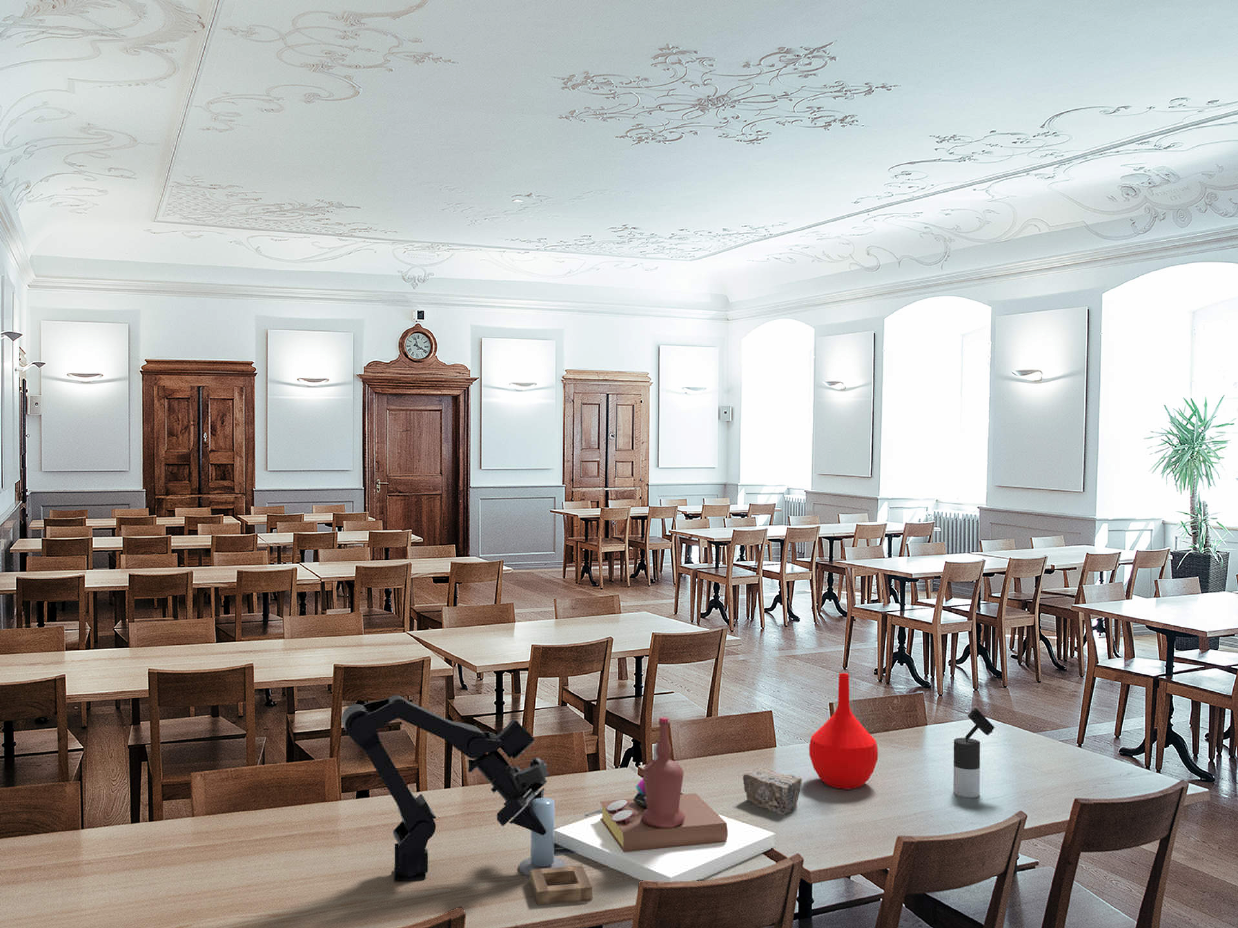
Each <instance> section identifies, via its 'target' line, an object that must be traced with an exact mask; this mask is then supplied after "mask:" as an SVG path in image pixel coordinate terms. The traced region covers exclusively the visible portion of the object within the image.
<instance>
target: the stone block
mask: <svg viewBox="0 0 1238 928" xmlns="http://www.w3.org/2000/svg"><path fill="white" fill-rule="evenodd" d="M742 779H743V789H744V792H745V794H746V795H745V796H746V800H747V801H749V803H753V804H754V805H756V806H758V807H760V808H764V809H767V810H769V811H770V812H773V813H776V814H780V815H782V816H785V815H787V814H789V813H790V812H792V811H795V810H796V809H797V808H798V801H799V798H800V793H801V787H802V782H803V778H802V777H801V776H799V775H795V774H784V773H781V772H776V771H773V770H770V769H765V768H761V767H756V768H755V769H753V770H752V769H751V770H749V771H747V772H744V773H743V776H742Z"/></svg>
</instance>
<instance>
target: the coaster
mask: <svg viewBox="0 0 1238 928" xmlns="http://www.w3.org/2000/svg"><path fill="white" fill-rule="evenodd" d="M518 867H519V868H518V869H519V872H520V873H522V874H523V875H525V876H527V877H530V870H532V869H545V868H557V867H567V863H566V862H565V860H564V859H561V858H559V857H556V856H554V863H553V864H551V865H549V866H535V865H532V864H531V857H528V858H526V859H524V860H522V861H520V862H519V866H518Z"/></svg>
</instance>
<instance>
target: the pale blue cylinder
mask: <svg viewBox="0 0 1238 928" xmlns="http://www.w3.org/2000/svg"><path fill="white" fill-rule="evenodd" d="M532 803H533V812H534V813H535V815H536V816H537V818H538V819H539V821H540V822H541V823H542V825H543V826H544V828H545V830H546V833H545V834H544V835H541V834H538V833H536V832H534V831H531V830H530V858H531V864H532V865H535V866H549V865H551V864H553V863H554V857H555V856H554V828H555V808H556V807H555V806H556V805H555V799H553V798H549V797H543V798H536V799H533V800H532Z"/></svg>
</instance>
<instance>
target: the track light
mask: <svg viewBox="0 0 1238 928" xmlns="http://www.w3.org/2000/svg"><path fill="white" fill-rule="evenodd" d="M967 717H968V718H969V720H971V722H972V723H973V724H974V726H973V727H972V729H970V731H969V732H968V733H967V734H966V735H965V736H964V737H957V738H956V737H955V738H954V739H953V794H955V796H958V797H963V798H977V797H980V792H981V791H980V790H981V789H980V787H981V786H980V782H981V781H980V780H981V775H980V774H981V767H980V766H981V742H980V741H979V740H978V739H975V738H972V736H973V734H975V733H976V732H977V730H978V729H979V730H980V731H981V732H982V733H983V734H984V735H986V736H990V734H991V733H993V730H994V729H995V728H996V727H995V726H994V725H993V724H992V723H991V722H990V721H989V719H988V718H986V716H985V715H983V714H982V712H980V710H979V709H978V708H977V707H974V708H973V709H972V710H971V711H970V712H969V714H968V715H967Z"/></svg>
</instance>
